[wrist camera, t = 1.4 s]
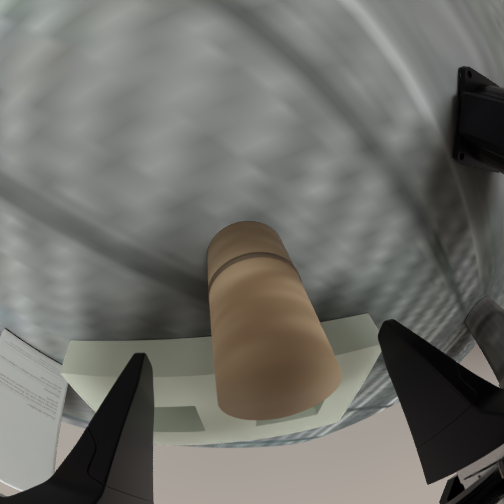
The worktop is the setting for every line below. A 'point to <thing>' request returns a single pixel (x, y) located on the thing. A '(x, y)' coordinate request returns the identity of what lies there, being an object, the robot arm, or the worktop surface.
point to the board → (204, 385)
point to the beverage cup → (489, 333)
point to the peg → (264, 328)
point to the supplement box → (28, 413)
